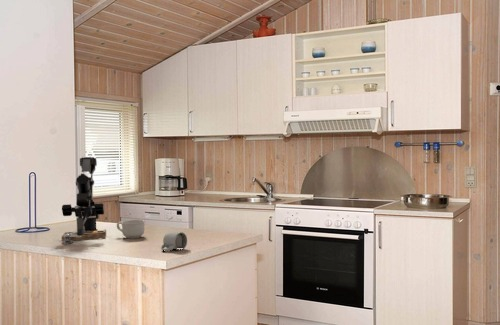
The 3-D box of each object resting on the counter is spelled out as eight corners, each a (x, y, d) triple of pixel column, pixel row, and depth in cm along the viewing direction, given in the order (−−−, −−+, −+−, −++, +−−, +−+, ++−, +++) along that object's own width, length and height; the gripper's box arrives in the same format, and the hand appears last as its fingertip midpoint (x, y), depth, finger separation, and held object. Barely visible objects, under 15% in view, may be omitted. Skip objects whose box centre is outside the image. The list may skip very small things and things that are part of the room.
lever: (61, 236, 244) (61, 218, 244) (80, 231, 259) (80, 213, 258) (81, 237, 241) (80, 218, 241) (99, 231, 256) (98, 214, 256)
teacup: (149, 236, 260) (148, 220, 259) (135, 240, 250) (135, 223, 249) (126, 234, 265) (125, 218, 265) (112, 238, 256) (111, 222, 255)
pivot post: (61, 244, 242) (60, 238, 242) (62, 242, 247) (62, 236, 247) (72, 243, 243) (72, 237, 243) (73, 241, 248) (73, 235, 248)
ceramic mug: (174, 246, 233) (173, 229, 232) (187, 248, 228) (187, 231, 228) (156, 251, 224) (155, 233, 224) (170, 253, 219) (169, 235, 219)
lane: (61, 240, 252) (61, 234, 252) (64, 237, 261) (64, 231, 261) (105, 238, 256) (105, 232, 256) (106, 235, 265) (106, 229, 265)
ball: (98, 235, 262) (95, 229, 261) (100, 235, 259) (98, 229, 259) (92, 238, 260) (90, 232, 259) (95, 238, 257) (92, 232, 257)
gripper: (61, 187, 248) (58, 214, 237) (103, 186, 251) (102, 212, 241) (64, 202, 256) (61, 228, 245) (104, 200, 259) (103, 226, 249)
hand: (82, 223), depth 245 cm, fingers closed
